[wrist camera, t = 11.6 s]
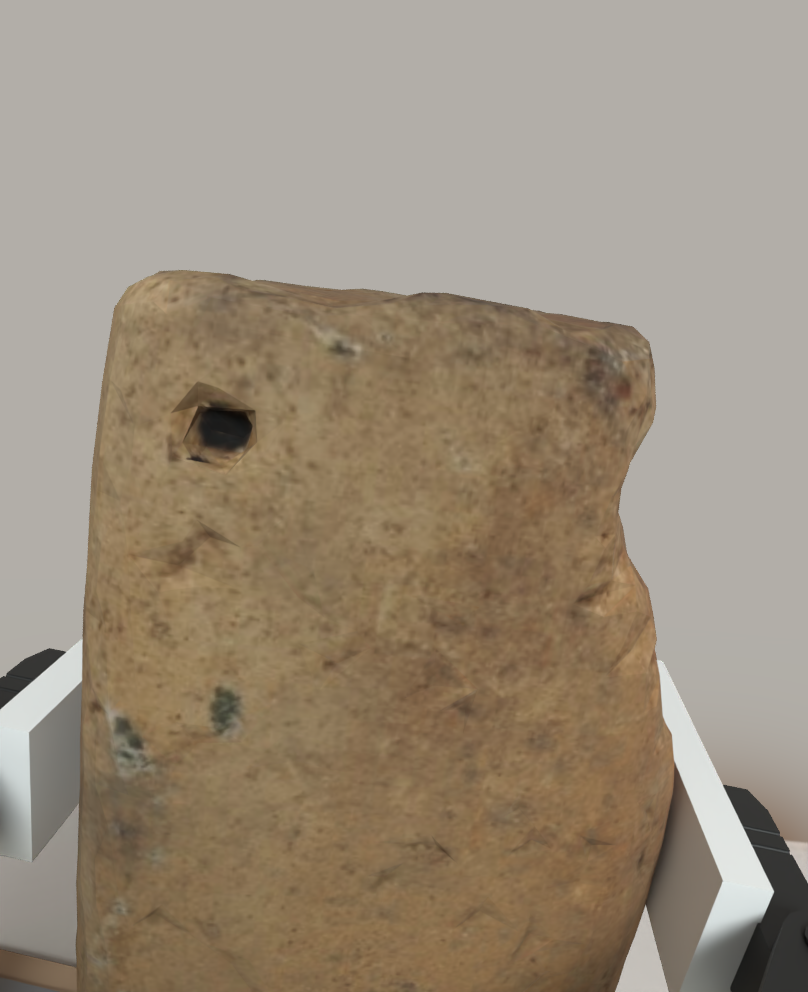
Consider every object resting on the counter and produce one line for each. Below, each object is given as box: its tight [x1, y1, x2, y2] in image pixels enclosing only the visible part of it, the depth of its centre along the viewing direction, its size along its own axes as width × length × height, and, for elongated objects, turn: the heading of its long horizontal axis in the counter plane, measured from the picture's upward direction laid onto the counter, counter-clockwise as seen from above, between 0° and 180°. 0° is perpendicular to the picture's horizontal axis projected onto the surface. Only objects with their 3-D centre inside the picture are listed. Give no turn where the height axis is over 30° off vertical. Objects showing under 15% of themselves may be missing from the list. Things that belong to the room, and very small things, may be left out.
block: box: [76, 270, 674, 992], centre depth 14 cm, size 11×8×20 cm
